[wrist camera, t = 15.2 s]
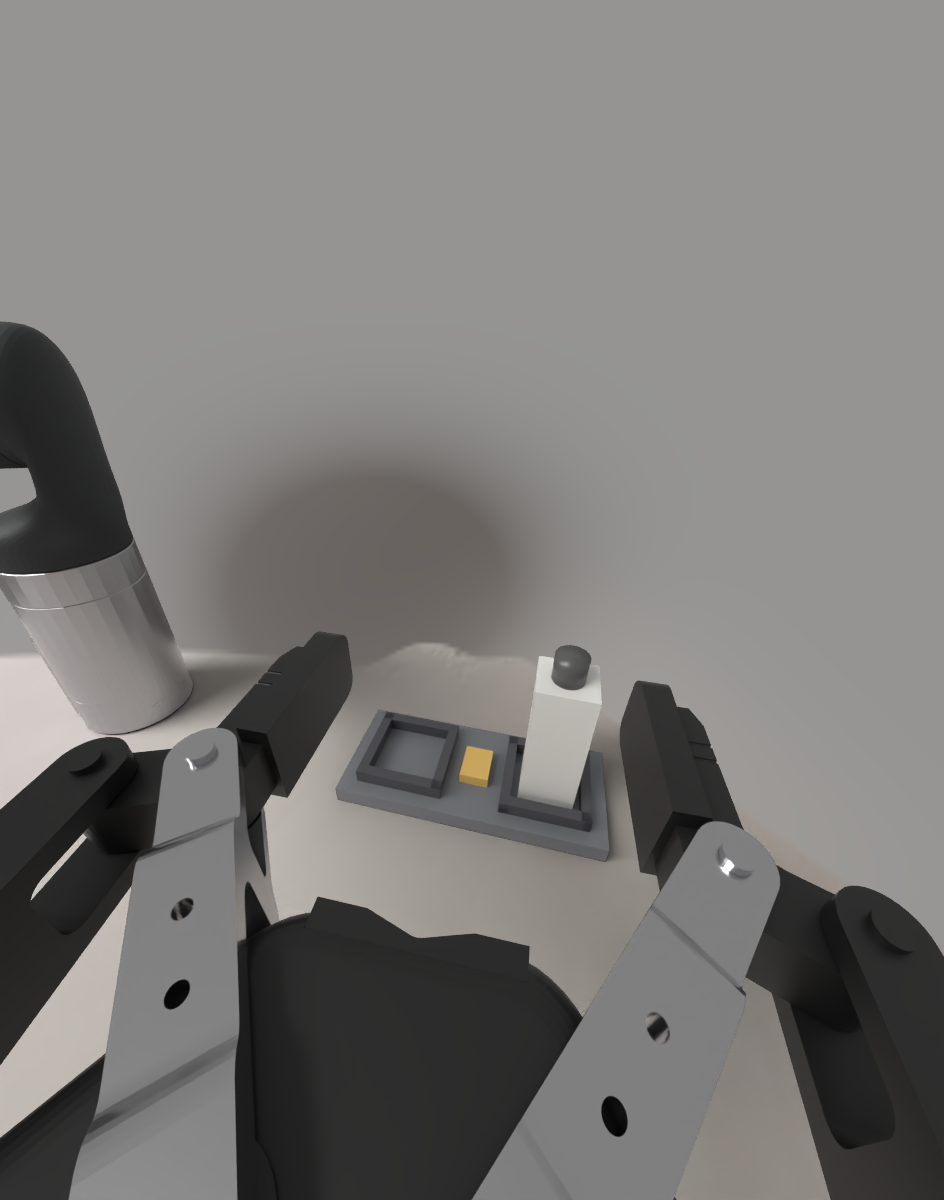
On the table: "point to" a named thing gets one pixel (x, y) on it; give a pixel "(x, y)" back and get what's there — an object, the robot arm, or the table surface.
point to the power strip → (470, 784)
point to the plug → (560, 727)
